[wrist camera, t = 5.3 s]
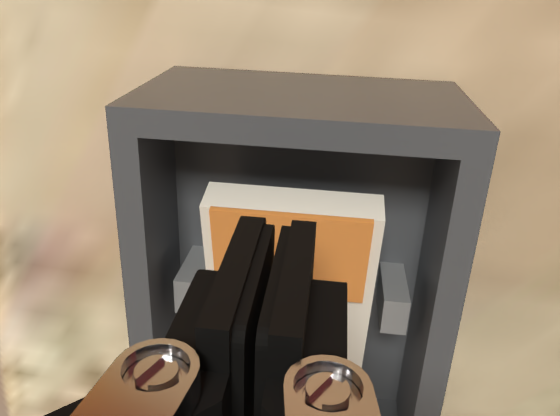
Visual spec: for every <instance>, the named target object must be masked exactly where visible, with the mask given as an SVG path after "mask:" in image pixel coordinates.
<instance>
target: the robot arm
mask: <svg viewBox="0 0 560 416" xmlns="http://www.w3.org/2000/svg"><path fill="white" fill-rule="evenodd" d="M316 224H317V222H313V221H301V220H292V222H291V226H283V225H282V227H281V231H280V235H279V239H278V243H277V247H276V251H275V255H274V243H275V225H271V224H266V218H264V217H251V216H240V218H239V221H238V223H237V226H236V228H235V231H234V233H233V236H232V238H231V240H230V243H229V245H228V248H227V250H226V253H225V255H224V258H223V260H222V262H221V265H220V267H219V270H218V271H215V270H204V269H199V270H197V272H196V273H195V276H194V278H193V280H192V282H191V284H190V286H189V288H188V290H187V292H186V294H185V297H184V299H183V301H182V303H181V305H180V307H179V309H178V311H177V313H176V315H175V318H174V320H173V322H172V324H171V326H170V328H169V330H168V332H167V334H166V336H165V338H158V339H149V340H146V341H143V342H139V343H136V344H135V345H133V346H131V347H129V348H127V349H125V350H124V351H123V352H122V353H121V354H120V355H119V356H118V357H117V358H116V359H115V360H114V362H113V363H112V364H111V365H110V367H109V368H108V369H107V370H106V372H105V373H104V374H103V375H102V376H101V378H100V379H99V380H98V381H97V383H96V384H95V385H94V386H93V388H92V389H91V390H90V391H89V393H88V394H87V395H86V396H85V397H84V398H82V399H80V400H78V401H75V402H73V403H71V404H69V405H67V406H64V407H62V408H60V409H58V410H56V411H53V412H51V413H49V414H47V415H44V416H381V414H380V410H379V406H378V403H377V399H376V395H375V391H374V387H373V384H372V382H371V380H370V378H369V376H368V374H367V373H366V372H365V371H364V370H363V369H362V368H361V367H360V366H358V365H357V364H355V363H353V362H352V361H350V360H347V282H337V281H326V280H315V279H313V268H314V253H315V239H316Z"/></svg>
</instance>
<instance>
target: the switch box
mask: <svg viewBox="0 0 560 416" xmlns="http://www.w3.org/2000/svg"><path fill="white" fill-rule="evenodd" d="M105 109H106V119H107V129H108V139H109V149H110V159H111V169H112V178H113V188H114V198H115V208H116V218H117V228H118V238H119V248H120V258H121V268H122V278H123V288H124V298H125V308H126V318H127V327H128V337H129V347H131V346H133V345H135V344H136V343H139V342H143V341H146V340H149V339H158V338H165V336H166V334H167V332H168V330H169V328H170V326H171V324H172V322H173V320H174V318H175V315H176V313H177V311H178V309H179V307H180V305H181V303H182V301H183V299H184V297H185V294H186V292H187V290H188V288H189V286H190V284H191V282H192V280H193V278H194V276H195V273H196V272H197V270H199V269H204V270H206V267H205V258H204V248H203V238H202V228H201V218H200V209H199V206H200V203H201V201H202V198H203V196H204V193H205V191H206V188H207V186H208V183H209V182H221V183H234V184H247V185H260V186H273V187H287V188H300V189H313V190H326V191H339V192H353V193H366V194H379V195H384V205H385V227H384V233H383V240H382V246H381V252H380V258H379V264H378V270H377V276H376V283H375V289H374V295H373V301H372V307H371V313H370V319H369V325H368V332H367V338H366V344H365V350H364V356H363V362H362V369H363V370H364V371H365V372H366V373H367V374H368V376H369V378H370V380H371V382H372V384H373V387H374V391H375V395H376V399H377V403H378V406H379V410H380V414H381V416H440V415H441V410H442V405H443V401H444V396H445V391H446V387H447V382H448V377H449V372H450V368H451V363H452V358H453V353H454V349H455V344H456V339H457V335H458V330H459V325H460V320H461V316H462V311H463V306H464V301H465V297H466V292H467V287H468V282H469V278H470V273H471V268H472V264H473V259H474V254H475V249H476V245H477V240H478V235H479V230H480V226H481V221H482V216H483V211H484V207H485V202H486V197H487V193H488V188H489V183H490V178H491V174H492V169H493V164H494V159H495V155H496V150H497V145H498V141H499V136H500V131H499V129H498V128H497V127H496V126H495V125H494V124H493V123H492V122H491V121H490V120H489V119H488V118H487V117H486V115H485V114H484V113H483V112H482V111H481V110H480V109H479V108H478V107H477V106H476V105H475V104H474V102H473V101H472V100H471V99H470V98H469V97H468V96H467V95H466V94H465V93H464V92H463V91H462V90H461V88H460V87H459V86H458V85H457V84H456V83H455V82H446V81H428V80H411V79H393V78H375V77H358V76H340V75H322V74H305V73H287V72H269V71H252V70H234V69H216V68H199V67H181V66H174V67H172V68H170V69H169V70H167V71H165V72H164V73H162V74H160V75H158V76H157V77H155V78H153V79H151V80H150V81H148V82H146V83H144V84H143V85H141V86H139V87H138V88H136V89H134V90H132V91H131V92H129V93H127V94H125V95H124V96H122V97H120V98H118V99H117V100H115V101H113V102H112V103H110V104H108V105H106V106H105Z"/></svg>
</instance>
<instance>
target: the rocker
mask: <svg viewBox="0 0 560 416" xmlns="http://www.w3.org/2000/svg"><path fill="white" fill-rule="evenodd" d="M199 209H200V218H201V228H202V238H203V248H204V258H205V267H206V270H215V271H218V270H219V267H220V265H221V262H222V260H223V258H224V255H225V253H226V250H227V248H228V245H229V243H230V240H231V238H232V236H233V233H234V231H235V228H236V226H237V223H238V221H239V218H240V216H251V217H264V218H266V224H271V225H275V243H274V255H275V251H276V247H277V243H278V239H279V235H280V231H281V227H282V225H283V226H291V222H292V220H301V221H313V222H317V224H316V239H315V253H314V268H313V279H315V280H326V281H337V282H347V360H350V361H352V362H353V363H355V364H357V365H358V366H360V367H361V368H362V362H363V356H364V350H365V344H366V338H367V332H368V325H369V319H370V313H371V307H372V301H373V295H374V289H375V283H376V276H377V270H378V264H379V258H380V252H381V246H382V240H383V233H384V227H385V205H384V195H379V194H366V193H353V192H339V191H326V190H313V189H300V188H287V187H273V186H260V185H247V184H234V183H221V182H209V183H208V186H207V188H206V191H205V193H204V196H203V198H202V201H201V203H200V206H199Z"/></svg>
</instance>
